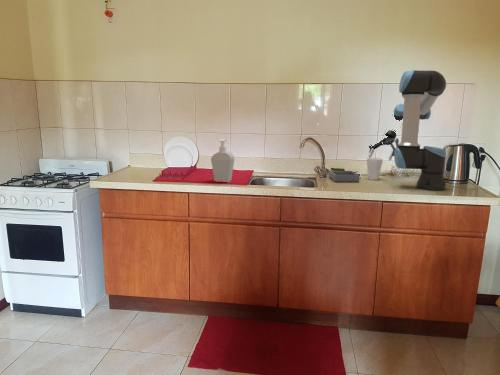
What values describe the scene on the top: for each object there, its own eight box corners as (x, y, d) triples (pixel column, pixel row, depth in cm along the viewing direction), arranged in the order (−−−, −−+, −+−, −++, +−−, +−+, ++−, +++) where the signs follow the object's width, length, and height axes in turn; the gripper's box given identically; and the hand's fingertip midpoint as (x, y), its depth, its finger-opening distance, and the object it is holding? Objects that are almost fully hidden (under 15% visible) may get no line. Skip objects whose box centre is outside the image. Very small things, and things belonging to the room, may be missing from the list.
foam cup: (378, 181, 235) (380, 160, 232) (363, 179, 240) (365, 158, 237) (382, 178, 243) (384, 158, 240) (368, 177, 248) (369, 157, 245)
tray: (358, 182, 230) (359, 175, 229) (335, 182, 230) (335, 175, 229) (351, 177, 245) (352, 170, 244) (329, 177, 244) (329, 170, 243)
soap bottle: (235, 180, 235) (235, 138, 229) (231, 183, 225) (230, 140, 220) (216, 179, 237) (215, 138, 232) (211, 182, 228) (210, 139, 222)
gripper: (411, 138, 246) (399, 163, 239) (374, 136, 263) (363, 159, 256) (408, 130, 241) (397, 156, 234) (371, 128, 258) (359, 152, 251)
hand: (379, 158), depth 245 cm, fingers open, 13 cm apart
